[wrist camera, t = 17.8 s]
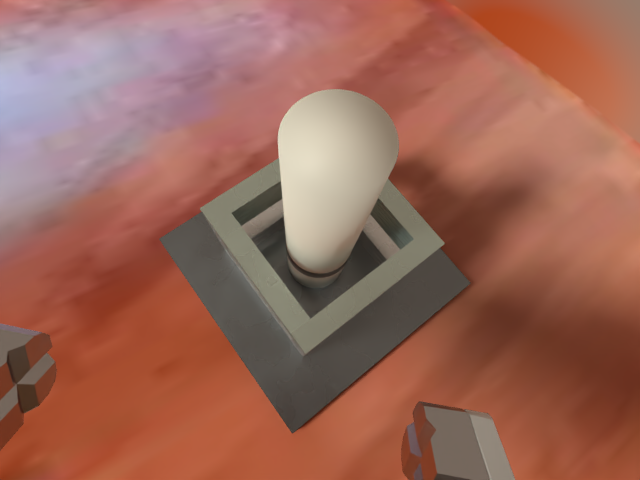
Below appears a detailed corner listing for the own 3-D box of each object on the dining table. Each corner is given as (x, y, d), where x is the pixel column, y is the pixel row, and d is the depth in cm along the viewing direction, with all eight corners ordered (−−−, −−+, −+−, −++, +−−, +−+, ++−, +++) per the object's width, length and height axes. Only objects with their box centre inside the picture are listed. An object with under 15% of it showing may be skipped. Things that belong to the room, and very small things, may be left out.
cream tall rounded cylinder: (355, 266, 28) (425, 152, 13) (310, 300, 27) (328, 222, 12) (320, 223, 29) (347, 68, 14) (275, 255, 28) (251, 127, 13)
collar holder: (466, 285, 29) (529, 255, 21) (292, 431, 25) (291, 461, 17) (333, 132, 32) (345, 57, 24) (162, 242, 29) (112, 195, 21)
